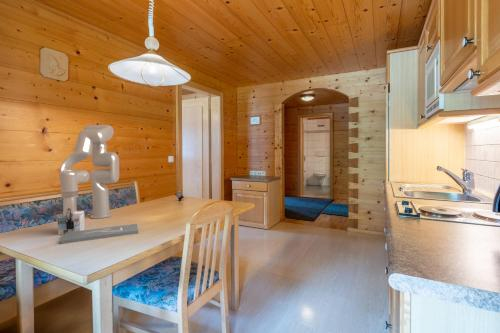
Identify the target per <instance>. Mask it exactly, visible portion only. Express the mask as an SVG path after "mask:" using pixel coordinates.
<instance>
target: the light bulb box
mask: <svg viewBox="0 0 500 333" xmlns="http://www.w3.org/2000/svg"><path fill="white" fill-rule="evenodd" d="M71 215H72V214H70V216H71ZM66 216H67V214H66ZM66 216H65V217H63V211H62V212H60V213H59V214H57V231H58V233H57V235H58V236H59V235H64V234H65V233H66V232H74V231H82V230H86V229H85V228H86V227H85V226H86V225H85V210H77V211H76V212H75V214H74V216H73V221H74V229H68V230H67V227H66ZM71 218H72V217H71Z"/></svg>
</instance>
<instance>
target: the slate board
mask: <svg viewBox="0 0 500 333" xmlns="http://www.w3.org/2000/svg"><path fill="white" fill-rule="evenodd" d="M134 234H135V235H137V234H139V228H138V223H133V224H132V223H131V224H125V225H116V226H115V225H114V226H108V227H99V228H91V229H85V230H82V231H74V232H66V233H65V234H63V236H62V237H61V238H60V241H59V244H60V245H64V244H70V243H77V242H85V241H90V240H98V239H99V240H100V239H107V238H108V239H109V238H115V237H120V236H122V237H123V236H128V235H129V236H130V235H134Z"/></svg>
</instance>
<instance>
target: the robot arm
mask: <svg viewBox="0 0 500 333" xmlns="http://www.w3.org/2000/svg"><path fill="white" fill-rule="evenodd" d="M114 132H115V131H114V128H113V126H112V125H108V124H91V125H89V124H88V125H85V126H84V128H83V129H82V130H81V131H79V132H78V135H77V140H76V143H75V148H74V151H73V152H72V153H70V155H69V156H67V158H65V159H64V161H63V162H62V163H61V166H60V169H59V173H58V180H59V181H60V182H59V183H60V196H61V197H60V198H61V199H62V212H63V217H65V216H66V214H67V216H66V227H67V230H68V229H74V221H73V216H74V214H75V212H76V211H78V209H77V207H78V206H77V198H78V197H79V184H86V183H87V182H88V181H90V186H91V200H92V214H91V215H90V216H89V217H90V218H91V219H95V220H97V219H106V218H108V217H112V216H113V213H112V212H110V200H109V199H110V197H109V195H110V194H109V188H108V186H107V185H106V184H115V183H117V182H119V179H120V158H119V155H118V154H117V153H116V152H114V151H112V152H111V151H108V146H107V143H106V142H108V141H110V140H111V139H112V138H113V137H114V134H115V133H114ZM90 157H91V162H92V165H93V166H94V167H99V168H95V169H94V168H93V169H91V171H87V170H84V169H72V168H73V166H75V165H76V164H77V163H79V162H81V161H84V160H86V159H89V158H90ZM102 167H103V168H102ZM106 167H109V168H106ZM70 214H72V215H71V216H70ZM71 217H72V218H71Z"/></svg>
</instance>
